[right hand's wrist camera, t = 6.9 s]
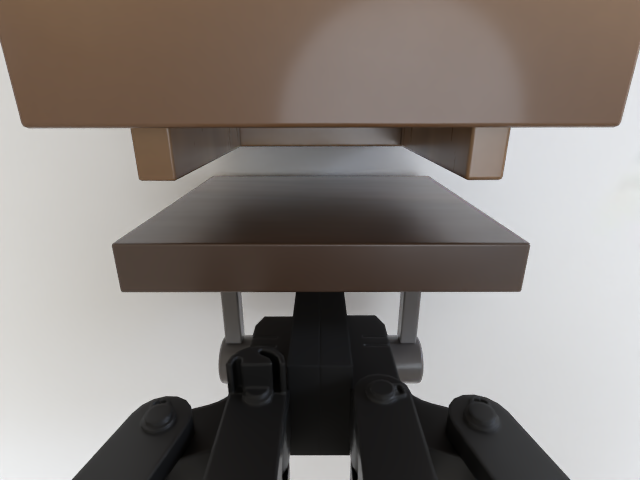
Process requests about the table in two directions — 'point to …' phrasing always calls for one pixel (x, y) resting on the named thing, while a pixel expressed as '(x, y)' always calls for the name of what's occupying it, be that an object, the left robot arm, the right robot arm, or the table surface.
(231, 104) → the cabinet
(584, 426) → the table surface
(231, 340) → the drawer
